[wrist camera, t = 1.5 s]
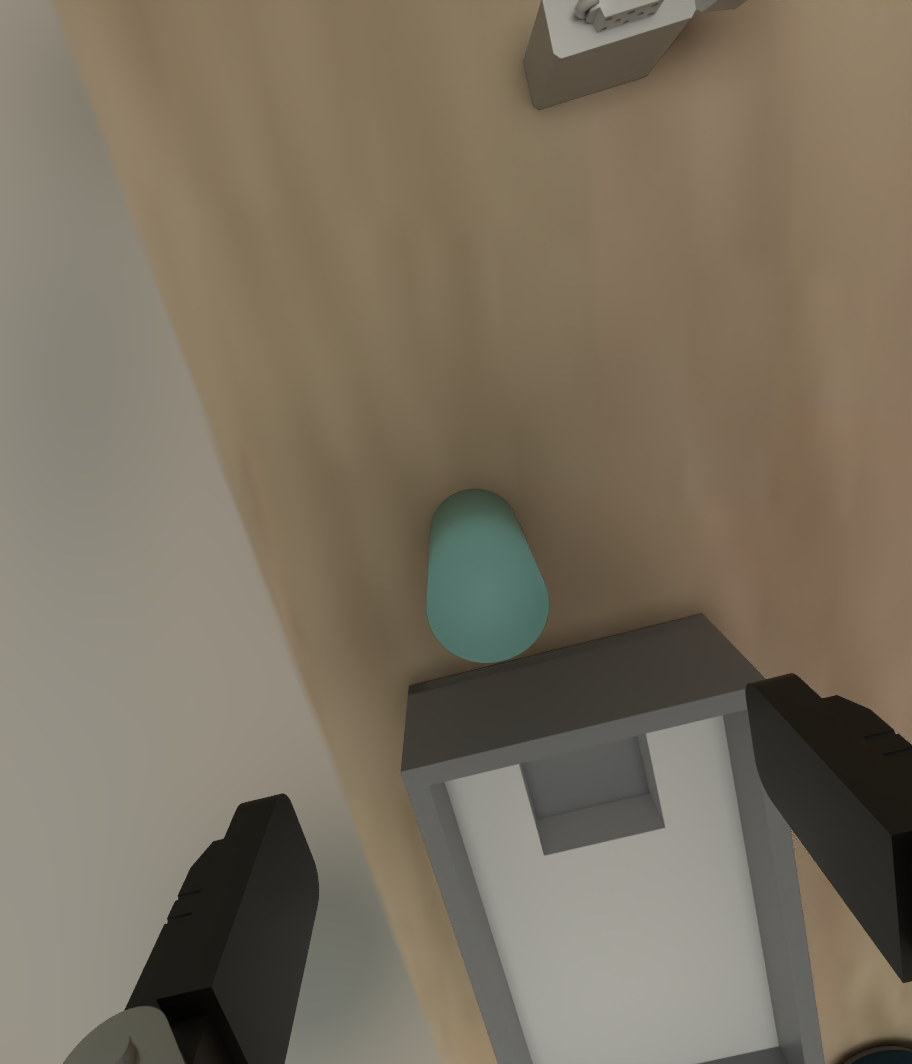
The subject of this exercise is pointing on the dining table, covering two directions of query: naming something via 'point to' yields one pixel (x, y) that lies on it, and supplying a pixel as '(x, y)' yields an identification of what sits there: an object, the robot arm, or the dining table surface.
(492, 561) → the peg
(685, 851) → the bin
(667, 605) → the dining table surface
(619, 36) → the lighter
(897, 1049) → the soda can
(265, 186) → the dining table surface
